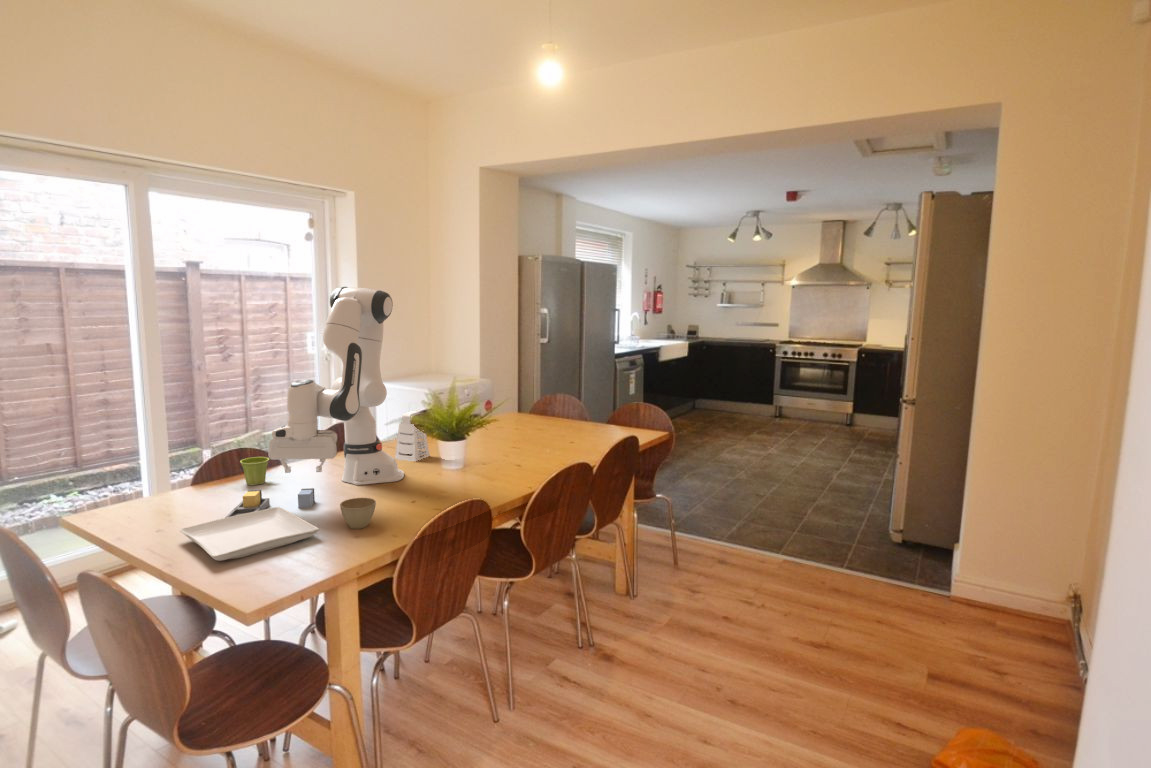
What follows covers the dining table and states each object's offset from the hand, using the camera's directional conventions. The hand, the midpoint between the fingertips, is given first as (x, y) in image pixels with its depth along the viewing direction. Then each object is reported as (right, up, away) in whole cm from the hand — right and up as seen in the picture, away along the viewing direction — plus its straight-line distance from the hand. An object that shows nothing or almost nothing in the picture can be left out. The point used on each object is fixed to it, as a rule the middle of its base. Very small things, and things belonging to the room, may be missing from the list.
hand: (303, 472), depth 195 cm
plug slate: (0, -11, +2) cm, 11 cm away
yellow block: (-15, -11, -4) cm, 18 cm away
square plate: (-2, -15, -28) cm, 32 cm away
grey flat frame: (-14, -12, -8) cm, 20 cm away
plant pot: (-29, -8, +25) cm, 39 cm away
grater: (+18, -4, +65) cm, 67 cm away
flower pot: (+24, -14, -16) cm, 32 cm away
